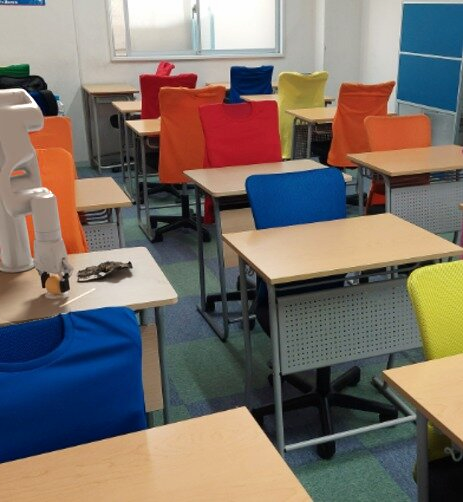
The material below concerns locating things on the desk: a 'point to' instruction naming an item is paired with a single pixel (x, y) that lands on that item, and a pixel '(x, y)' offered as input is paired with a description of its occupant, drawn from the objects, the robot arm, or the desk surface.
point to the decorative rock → (102, 269)
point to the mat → (51, 296)
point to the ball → (53, 285)
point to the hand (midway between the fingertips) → (56, 288)
